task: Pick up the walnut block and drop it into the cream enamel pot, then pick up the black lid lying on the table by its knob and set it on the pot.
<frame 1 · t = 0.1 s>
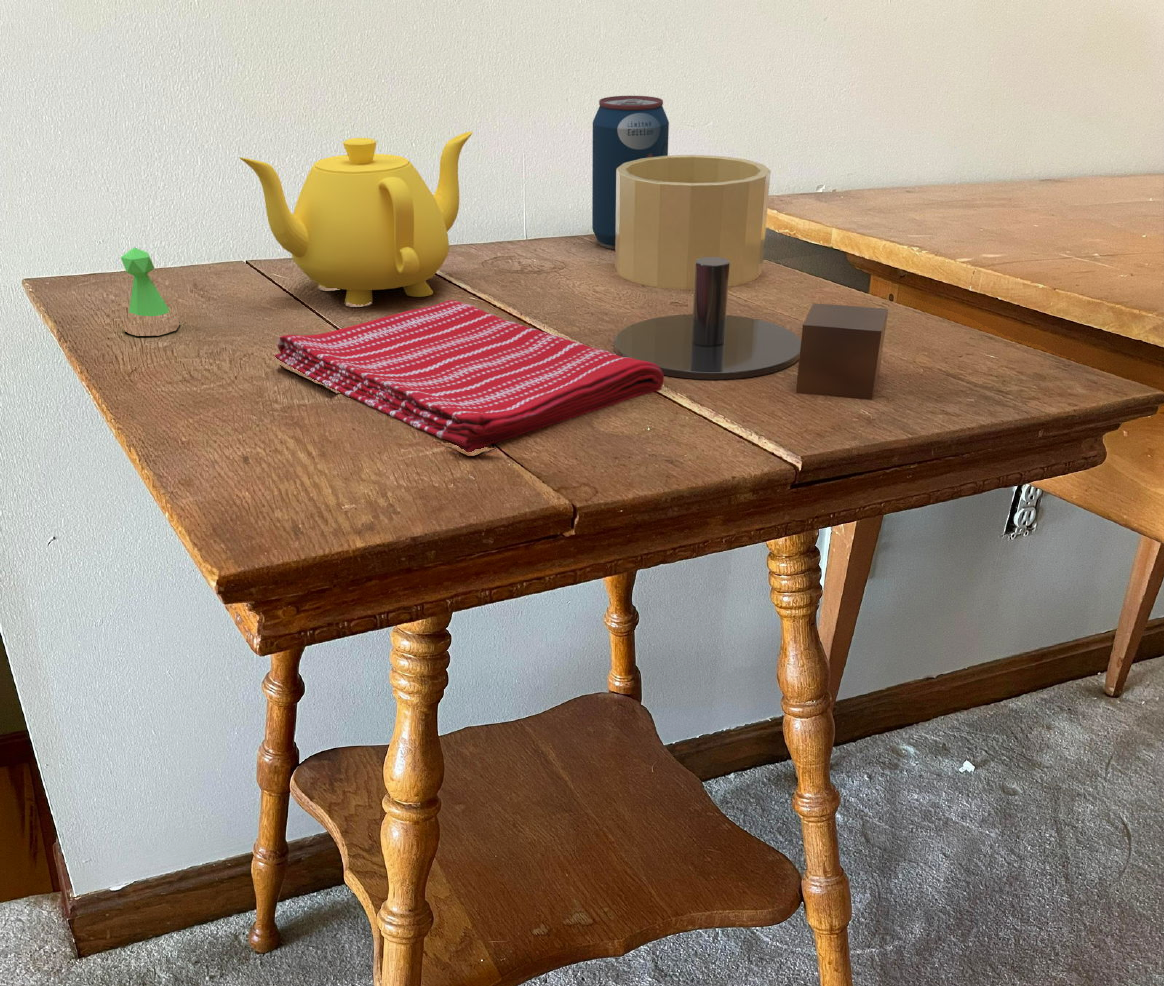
block: (836, 392, 81), on the table
game piece: (153, 331, 93), on the table
dish towel: (466, 385, 83), on the table
lid: (707, 348, 87), point 1 cm above the table
teapot: (380, 295, 101), on the table
pot: (688, 276, 104), on the table
soda can: (628, 245, 114), on the table
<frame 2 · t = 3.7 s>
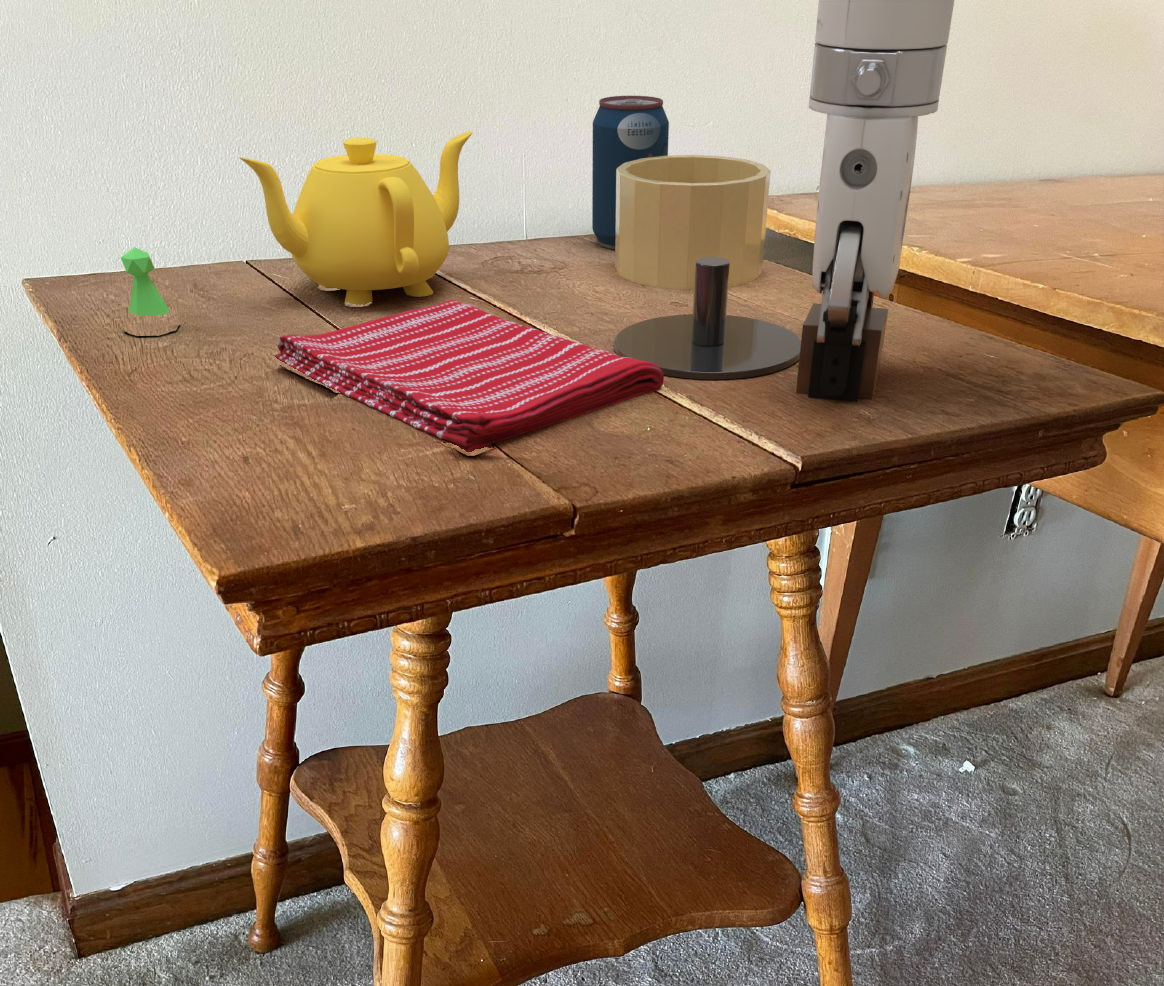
hand: (837, 385, 81), 0 cm above the table, tool pointing down, fingers closed on block, 5 cm apart
block: (836, 392, 81), on the table, touching gripper
everything else where it was.
when the fingers open (7 cm above the table, at t = 10.5 s): block drops 6 cm, resting on pot.
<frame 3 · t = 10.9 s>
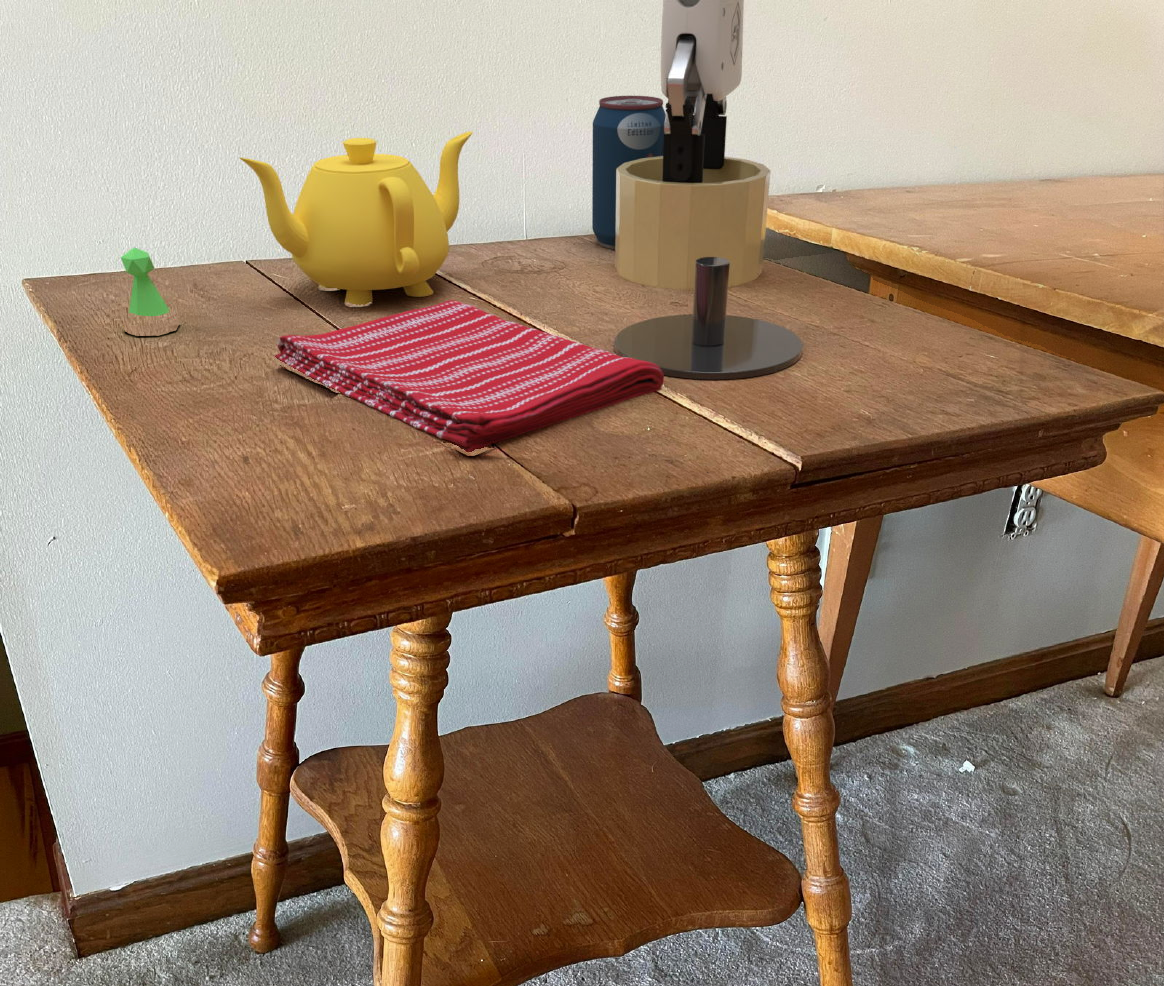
hand: (694, 177, 100), 8 cm above the table, tool pointing down, fingers open, 8 cm apart
block: (688, 270, 104), resting on pot
everything else where it was.
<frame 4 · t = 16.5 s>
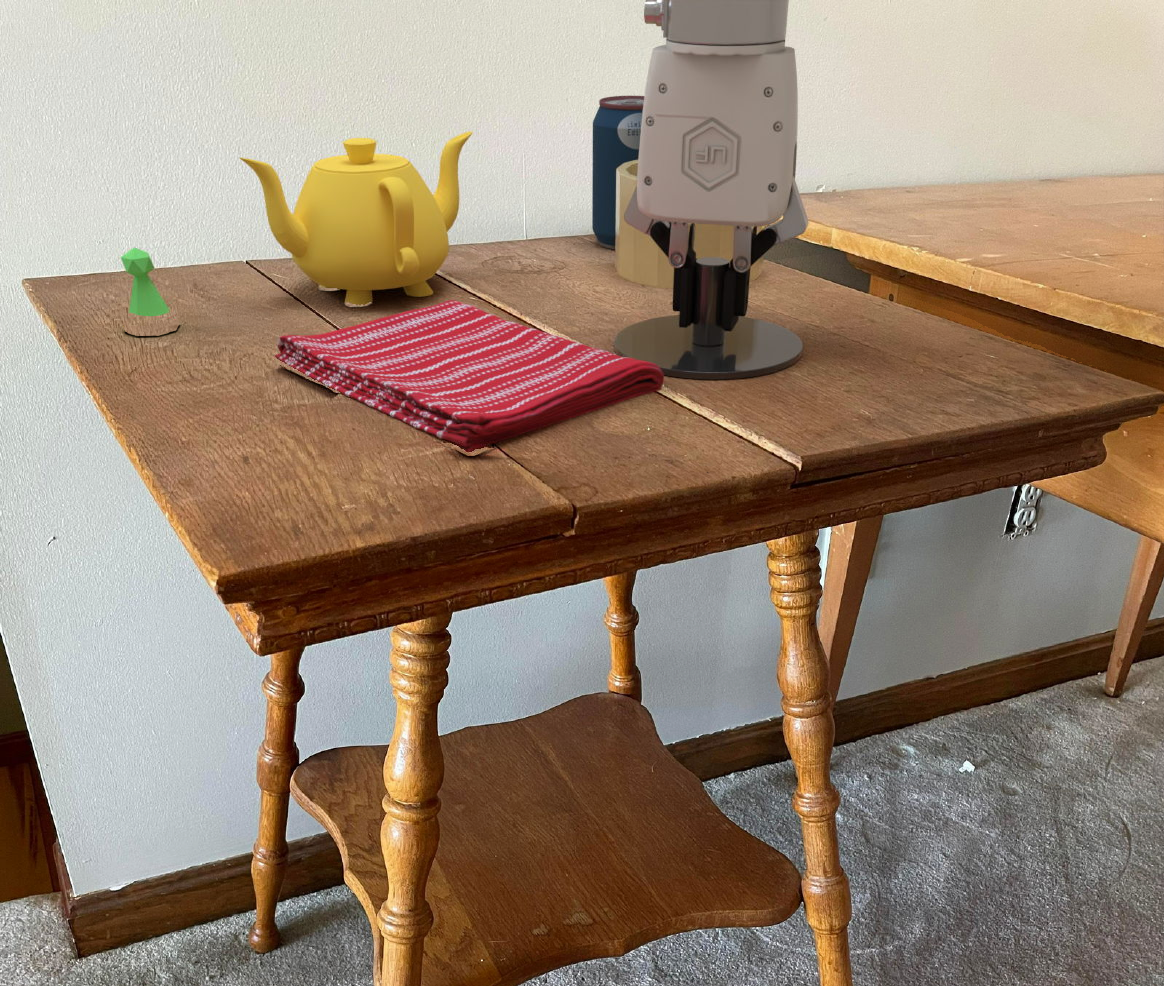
hand: (709, 321, 86), 2 cm above the table, tool pointing down, fingers closed on lid, 2 cm apart
lid: (707, 348, 87), point 1 cm above the table, touching gripper
everything else where it was.
when the fingers open (10 cm above the table, at t = 22.7 s): lid stays where it is, resting on pot.
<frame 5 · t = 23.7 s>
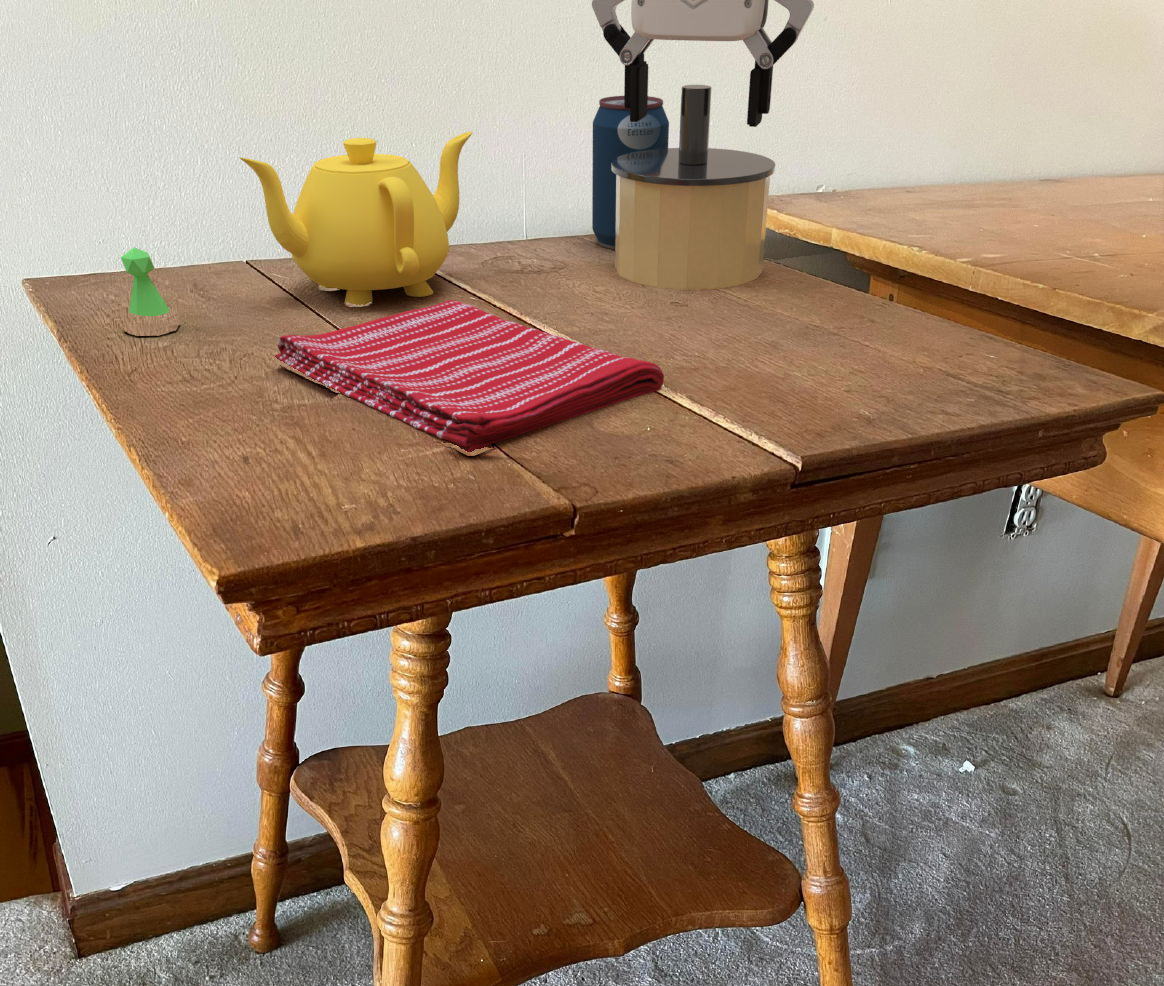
hand: (695, 121, 97), 12 cm above the table, tool pointing down, fingers open, 9 cm apart
lid: (692, 169, 99), point 8 cm above the table, touching pot
everything else where it was.
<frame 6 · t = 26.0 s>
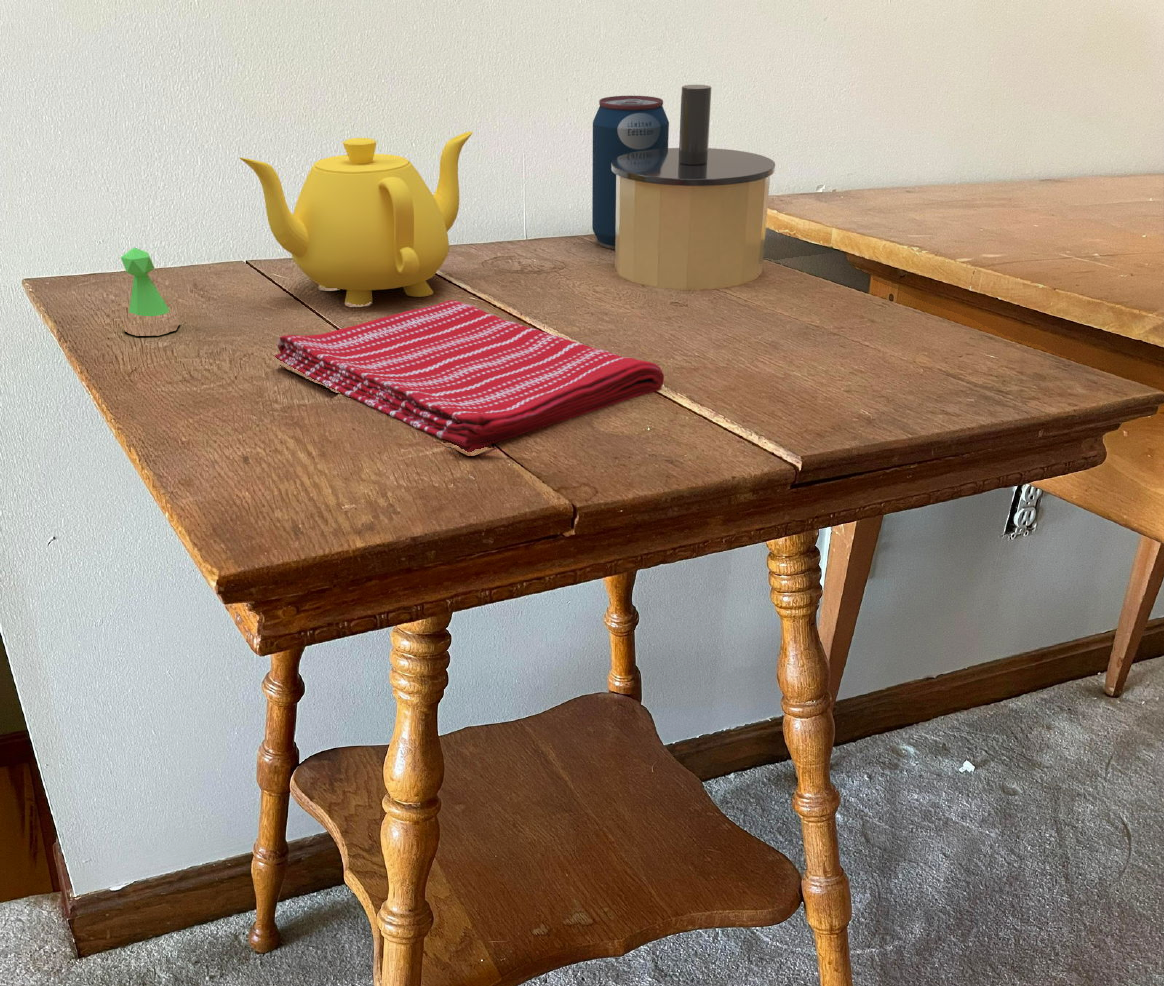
nothing on the table moved.
at the end: block inside the target area in the pot (0.0 cm from its centre), point 0.5 cm above the pot's base; lid 0.0 cm off-centre on the pot, point 8.5 cm above the pot's base; lid tilted 0° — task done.
